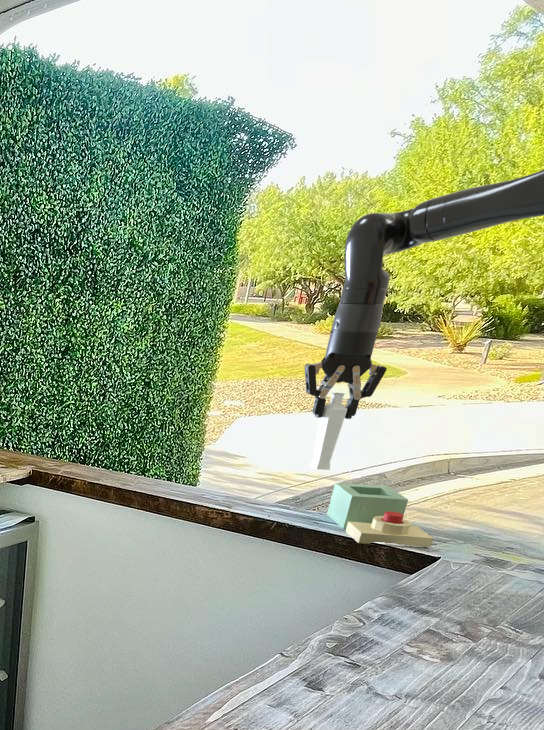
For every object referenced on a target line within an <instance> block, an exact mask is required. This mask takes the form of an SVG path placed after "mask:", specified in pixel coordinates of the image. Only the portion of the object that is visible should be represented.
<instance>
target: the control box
mask: <svg viewBox="0 0 544 730" xmlns="http://www.w3.org/2000/svg"><path fill="white" fill-rule="evenodd" d="M383 517H384V516H376V517H374V518H373V521H372V523H363V522H348V525H347V528H346V529H345V533H346V534H347V535H349V536H350V537H351V538H352V539H353V540H354V541H355V542H356V543H357V544H363V545H371V544H370V543H372V542H385V543H397V544H405V545H414V546H423V547H430V548H431V547H432V544H433V541H434V537H433V536H431V535H430V534H428V533H427V532H425V531H424V530H423V529H422V528H421V527H419V526H417V525H412V522H410V521H409V520H407V519H404V518H403V520H402V523H401V524H394V523H389V522H385V521H383Z"/></svg>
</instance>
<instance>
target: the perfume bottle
mask: <svg viewBox="0 0 544 730" xmlns="http://www.w3.org/2000/svg"><path fill="white" fill-rule="evenodd" d="M331 395H332V396H331V399H330V402H329V403H327V404H325V407H324V411H323V415H322V418H318V425H317V431H316V438H315V444H314V450H313V455H312V456H313V457H312V460H311V462H310V463H309V466H308V467H309V468H312V469H315V470H320V471H330V470H331V461H332V458H333V454H334V452H335V449H336V445H337V442H338V439H339V436H340V433H341V431H342V427H343V424H344V421H345V419H346V418H345V415H346V412H347V407H346V405H345V404H343V399H344V396H345V393H343V392H332V393H331Z"/></svg>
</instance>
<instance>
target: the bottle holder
mask: <svg viewBox="0 0 544 730" xmlns="http://www.w3.org/2000/svg"><path fill="white" fill-rule="evenodd" d="M408 503H409V499H408V498H407V497H405V496H403V495H402V494H400V493H399V492H398V491H396V490H394V489H393V488H391V487H390V486H388V485H376V484H374V485H373V484H361V483H360V484H357V483H343V482H342V483H341V482H335V483H334V486H333V491H332V493H331V497H330V502H329V505H328V509H327V513H326V515H327V516H328V517H329V518H330V519H331V520H332V521H334V522H335V523H336V524H337V525H338V526H339V527H340V528H341V529H343V530H346V528H347V525H348V522H363V523H372V521H373V518H374V517H376V516H384V514H385V512H397V513H401V514H403V515H404V516H405V512H406V508H407V505H408Z"/></svg>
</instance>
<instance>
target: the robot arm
mask: <svg viewBox="0 0 544 730" xmlns="http://www.w3.org/2000/svg"><path fill="white" fill-rule="evenodd" d="M543 216H544V169H542V170H540V171H536V172H533V173H531V174H527V175H525V176H521V177H517V178H513V179H509V180H506V181H499V182H495V183H490V184H484V185H480V186H474V187H470V188H466V189H462V190H458V191H455V192H451V193H447V194H444V195H440V196H436V197H433V198H430V199H428V200H424V201H422V202H420V203H419V204H417V205H416V206H415V207H413V208H410V209H406V210H402V211H399V212H393V213H390V212H389V213H388V212H386V213H385V212H371V213H366V214H364V215H362V216H361V217H360V218H358V219H357V220H355V222H354V223H353V224H352V226H351V227H350V229H349V231H348V234H347V236H346V239H345V245H344V279H345V280H344V283H343V287H342V291H341V296H340V299H339V303H338V305H337V306H338V307H337V309H336V311H335V313H334V317H333V322H332V326H331V330H330V334H329V337H328V341H327V345H326V346H327V347H326V350H325V355H324V357H323V358H322V359H321V361H319V362H315V363H306V364H305V365H304V380H305V392H306V394H308V395H310V396H313V397H314V403H313V407H312V411H311V412H312V414H313V415H314V417H315V418H318V419H319V418H322V415H323V411H324V407H325V405H326V402H327V398H326V397H327V396H328V394H329V393H330V391H331V389H333V387H334V386H335V384H339V383H346V384H347V387H348V393H349V398H347V401H346V405H345V406H346V407H347V412H346V415H345V418H344V419H346V420H351V419H352V417H354V416H356V414H357V411H358V407H359V402H360V400H361V399H364V398H370V397H372V396H373V394H374V393H375V391H376V389H377V388H378V386H379V384H380V383H381V381H382V379H383V377H384V376H385V374H386V372H387V370H388V369H387V367H386V366H383V365H380V364H374V363H373V362H372V355H373V351H374V348H375V344H376V340H377V336H378V332H379V329H380V327H381V322H382V318H383V311H384V303H385V301H386V300H385V299H386V295H387V292H388V288H389V284H390V279H391V277H390V274H389V272H388V271H387V270H385V269H384V268H383V264H384V263H383V261H384V256H386V255H391V254H396V253H399V252H403V251H407V250H410V249H412V248H415V247H418V246H421V245H423V244H427V243H431V242H437V241H441V240H442V241H443V240H446V239H449V238H452V237H458V236H462V235H466V234H470V233H473V232H478V231H480V230H484V229H488V228H491V227H492V228H493V227H496V226H499V225H502V224H507V223H511V222H514V221H520V220H525V219H531V218H537V217H543ZM321 369H322V371H323V373H324V377H323V378H322V380H321V382H320V384H319V387H318V386H317V375H318V374H319V373H320V370H321ZM368 371H369V372H368ZM367 372H368V375H369V376H368V379H367V380H366V382H365V384H364V385H363V386H362V381H361V377H363V375H364V374H365V373H367ZM317 387H318V388H317ZM361 388H362V389H361Z"/></svg>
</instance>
